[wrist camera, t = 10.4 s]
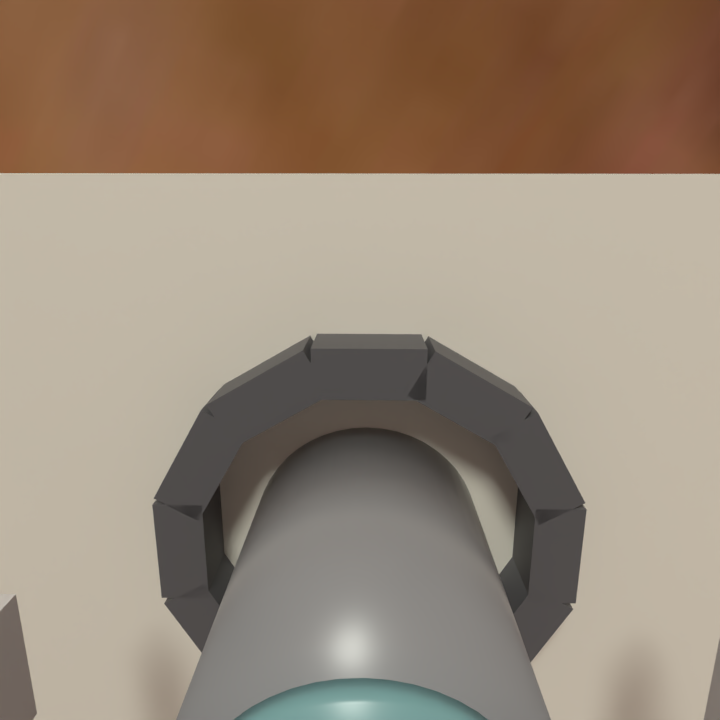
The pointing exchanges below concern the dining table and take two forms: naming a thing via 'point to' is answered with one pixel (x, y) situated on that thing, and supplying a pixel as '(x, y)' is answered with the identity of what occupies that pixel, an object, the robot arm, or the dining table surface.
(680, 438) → the barrel board
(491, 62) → the dining table surface
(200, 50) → the dining table surface
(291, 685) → the teal capped cylinder
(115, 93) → the dining table surface
